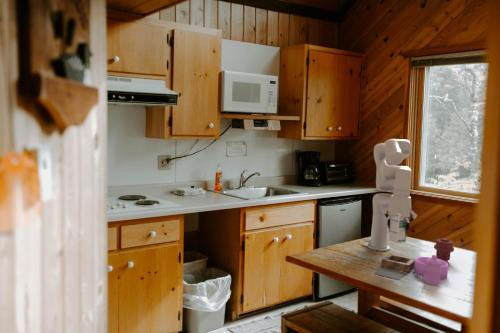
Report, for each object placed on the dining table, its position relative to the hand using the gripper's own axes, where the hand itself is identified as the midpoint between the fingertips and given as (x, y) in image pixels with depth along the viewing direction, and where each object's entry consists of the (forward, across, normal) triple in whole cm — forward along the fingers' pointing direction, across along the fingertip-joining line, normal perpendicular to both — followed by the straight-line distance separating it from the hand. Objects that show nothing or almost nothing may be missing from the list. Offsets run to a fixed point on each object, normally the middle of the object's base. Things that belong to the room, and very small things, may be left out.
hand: (398, 228), depth 238 cm
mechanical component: (+21, +16, +35) cm, 44 cm away
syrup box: (+7, 0, 0) cm, 7 cm away
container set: (+22, +17, +3) cm, 28 cm away
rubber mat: (+21, 0, -6) cm, 22 cm away
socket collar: (+21, 0, +8) cm, 23 cm away
